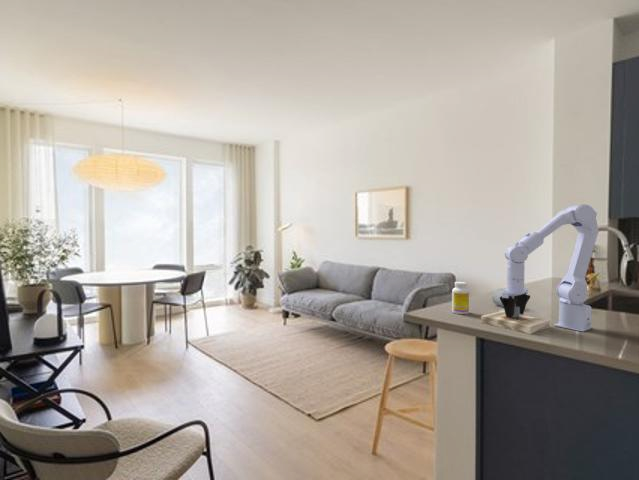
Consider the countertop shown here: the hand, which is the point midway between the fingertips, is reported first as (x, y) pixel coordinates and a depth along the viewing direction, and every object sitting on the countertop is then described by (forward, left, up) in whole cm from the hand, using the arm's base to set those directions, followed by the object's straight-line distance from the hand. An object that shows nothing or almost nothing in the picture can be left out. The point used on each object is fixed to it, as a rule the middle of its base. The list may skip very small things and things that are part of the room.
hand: (514, 315), depth 138 cm
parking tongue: (+8, -12, -4) cm, 15 cm away
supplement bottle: (+23, 0, -4) cm, 23 cm away
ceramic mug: (+18, -28, -4) cm, 33 cm away
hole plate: (0, 0, -4) cm, 4 cm away
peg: (0, 0, -4) cm, 4 cm away
